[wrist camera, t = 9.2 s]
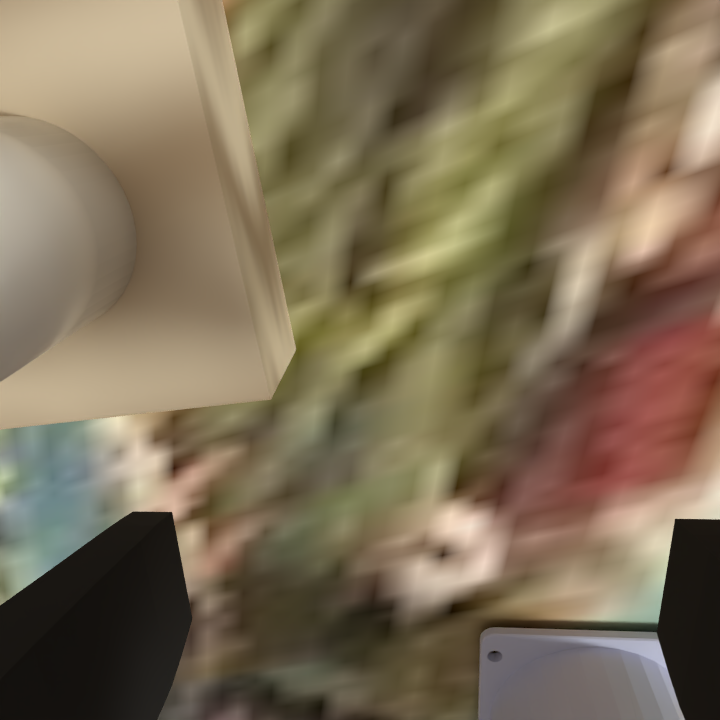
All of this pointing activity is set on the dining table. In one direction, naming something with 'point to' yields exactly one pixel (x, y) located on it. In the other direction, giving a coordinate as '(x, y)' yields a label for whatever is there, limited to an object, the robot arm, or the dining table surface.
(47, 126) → the beige round cylinder
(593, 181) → the dining table surface
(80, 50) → the block
